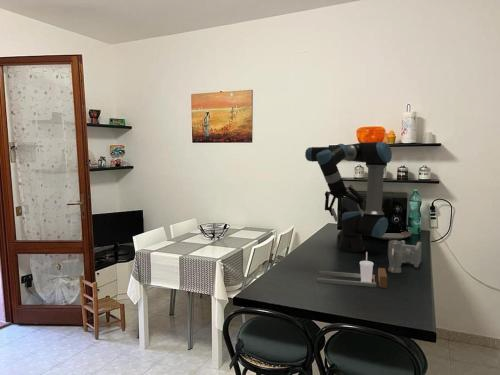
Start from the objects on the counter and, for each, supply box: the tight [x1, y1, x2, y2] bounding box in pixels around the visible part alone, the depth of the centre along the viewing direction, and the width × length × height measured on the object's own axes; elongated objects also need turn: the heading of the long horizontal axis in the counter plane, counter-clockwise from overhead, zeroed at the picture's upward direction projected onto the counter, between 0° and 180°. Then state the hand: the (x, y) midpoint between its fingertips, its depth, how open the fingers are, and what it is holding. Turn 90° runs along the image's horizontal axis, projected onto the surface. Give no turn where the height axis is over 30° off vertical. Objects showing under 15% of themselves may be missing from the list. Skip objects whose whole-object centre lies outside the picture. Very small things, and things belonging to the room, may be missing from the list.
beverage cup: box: [359, 251, 374, 282], centre depth 168 cm, size 6×6×14 cm
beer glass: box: [387, 240, 403, 274], centre depth 181 cm, size 7×7×15 cm
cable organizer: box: [400, 239, 422, 269], centre depth 191 cm, size 15×11×12 cm
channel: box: [316, 267, 388, 289], centre depth 170 cm, size 30×12×5 cm, turn 74°
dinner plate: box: [375, 230, 411, 241], centre depth 251 cm, size 27×27×3 cm
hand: (349, 217), depth 183 cm, fingers open, 13 cm apart
